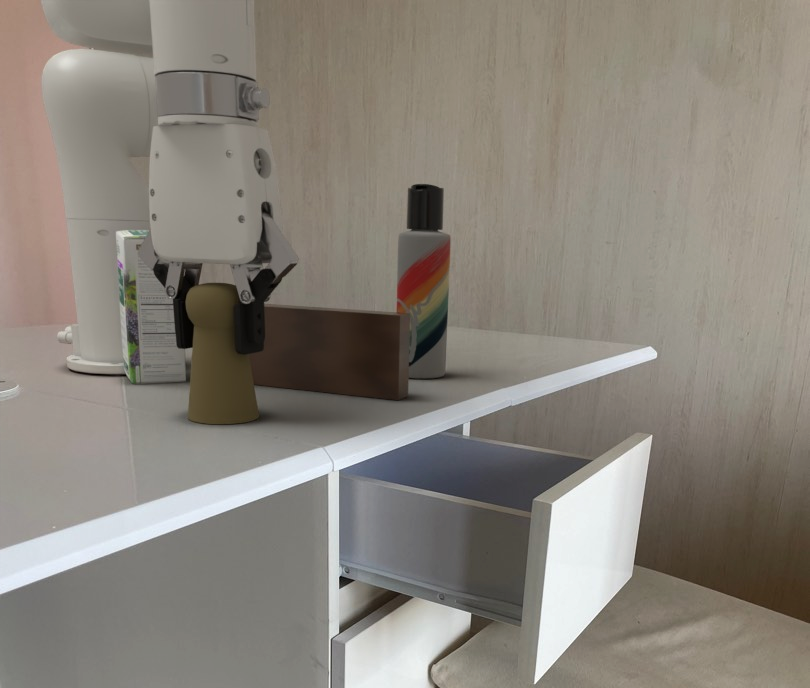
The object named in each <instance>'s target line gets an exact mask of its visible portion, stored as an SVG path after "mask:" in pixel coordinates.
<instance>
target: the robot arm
mask: <svg viewBox="0 0 810 688" xmlns="http://www.w3.org/2000/svg"><path fill="white" fill-rule="evenodd" d="M40 3H41V8H42V10H43V14H44V17H45V19H46V22H47V24H48V26H49V28H50V30H51V31H52V33H53V34H54V35H55V36H56V37H57V38H59V39H60V40H61V41H64V43H68V44H70V45H73V46H78V47H83V48H69V49H66V50H62V51H60V52H58V53H56V54H54V55H52V56H51V57H50V58H49V59H48V60H47V62H46V63H45V64H44V67H43V70H42V73H41V81H40V82H41V95H42V100H43V101H42V102H43V106H44V111H45V115H46V118H47V121H48V126H49V129H50V134H51V137H52V142H53V146H54V149H55V155H56V159H57V164H58V170H59V177H60V182H61V183H60V184H61V191H62V198H63V206H64V214H65V215H64V216H65V223H66V231H67V239H68V249H69V258H70V268H71V275H72V276H71V277H72V286H73V294H74V304H75V312H76V322H77V323H76V324H75V323H73V324H70V325H68V326H66V327H65V328H64V330H60V331H58V333H57V334H56V335H57V336H56V338H57V341H58V342H59V343H60V344H65V345H72V348H73V354H70V355H69V356H67V357H66V359H65V361H66V366H67V368H68V369H70V370H71V371H74V372H79V373H85V374H100V375H126V373H125V370H124V362H123V348H122V334H121V318H120V300H119V280H118V260H117V244H116V231H124V230H149V232H148V234H147V236H146V237H145V239H144V241H143V243H142V244H141V246H140V248H139V250H138V255H139V257H140V259H141V260H142V261H143V262H144V263H145V264H146V265H147V266H148V267H149V268H150V269H151V270H153V271H154V275H155V276H156V278H157V279H158V280H159V281H160V283H161V284H162V285H163V286H164V288H165V294H166V296H167V297H168V298H169V299H173V309H174V324H175V333H176V345H177V347H178V348H179V349H185V350H187V349H192V348H193V333H194V324H193V323H192V321H191V320H190V319H189V317H188V314H187V310H186V296H187V293H188V291H189V289H190V288H192V287H193V286H196V285H200V280H201V274H202V269H203V265H204V264H209V265H210V264H211V265H229V267H230V270H231V274H232V277H233V281H234V285H236V288H237V291H238V295H239V298H240V303H236V304H235V306H234V329H235V349H236V352H237V353H238V354H242V355H246V354H251V353H256V352H261V351H263V349H264V340H265V313H264V304H265V303H267V302H269V300H271V297H272V295H271V294H272V293H273V292H274V290H276V288H277V287H278V286H279V285H280V283H282V280H283V278H284V277H286V276H287V275H288V274H289V273H290V272H291V271H292V270H293V269H294V268H295V267H296V266H297V265H298V263H299V256H298V254H297V252H296V251H295V249H294V248H293V247H292V245H291V244H290V242H289V241H288V239H287V238H286V236H285V235H284V230H283V213H282V204H281V202H282V201H281V193H280V185H279V178H278V177H279V176H278V172H277V171H278V170H277V166H276V159H275V155H274V149H273V146H272V141H271V138H270V133H269V130H268V129H267V128H265V127H261V126H260V127H259V120H260V110H261V109H268V108H269V106H270V102H271V97H270V93H269V90H268V89H267V88H265V87H259V83H258V82H257V77H258V76H257V51H256V21H255V0H40ZM130 158H149V168H148V169H149V170H148V182H147V180H146V179H145V178H144V177H143V175H142V173H140V171H139V170H138V169H137V167H136V166H135V164H134V163H133V162H132V160H131V159H130ZM169 261H170V262H169ZM264 264H267V265H266V266H265V267H264Z"/></svg>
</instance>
